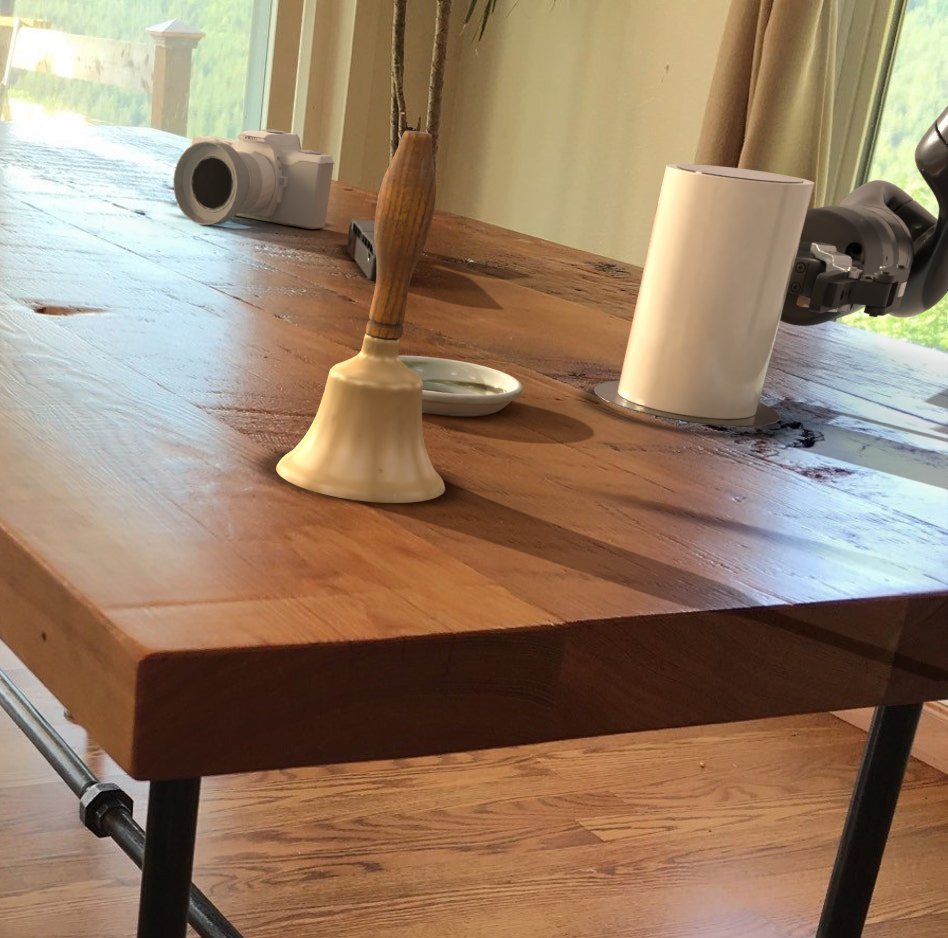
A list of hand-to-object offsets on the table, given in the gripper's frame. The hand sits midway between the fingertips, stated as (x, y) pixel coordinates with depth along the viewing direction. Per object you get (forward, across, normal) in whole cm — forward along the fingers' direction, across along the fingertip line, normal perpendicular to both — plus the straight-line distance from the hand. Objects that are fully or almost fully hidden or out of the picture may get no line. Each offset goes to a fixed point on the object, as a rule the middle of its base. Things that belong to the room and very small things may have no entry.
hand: (748, 281), depth 101 cm
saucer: (+21, -10, +8) cm, 24 cm away
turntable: (+6, 0, +8) cm, 10 cm away
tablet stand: (-26, -41, +8) cm, 49 cm away
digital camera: (-37, -64, +8) cm, 74 cm away
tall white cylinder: (+4, 0, +7) cm, 8 cm away
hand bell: (+37, -5, +8) cm, 38 cm away
